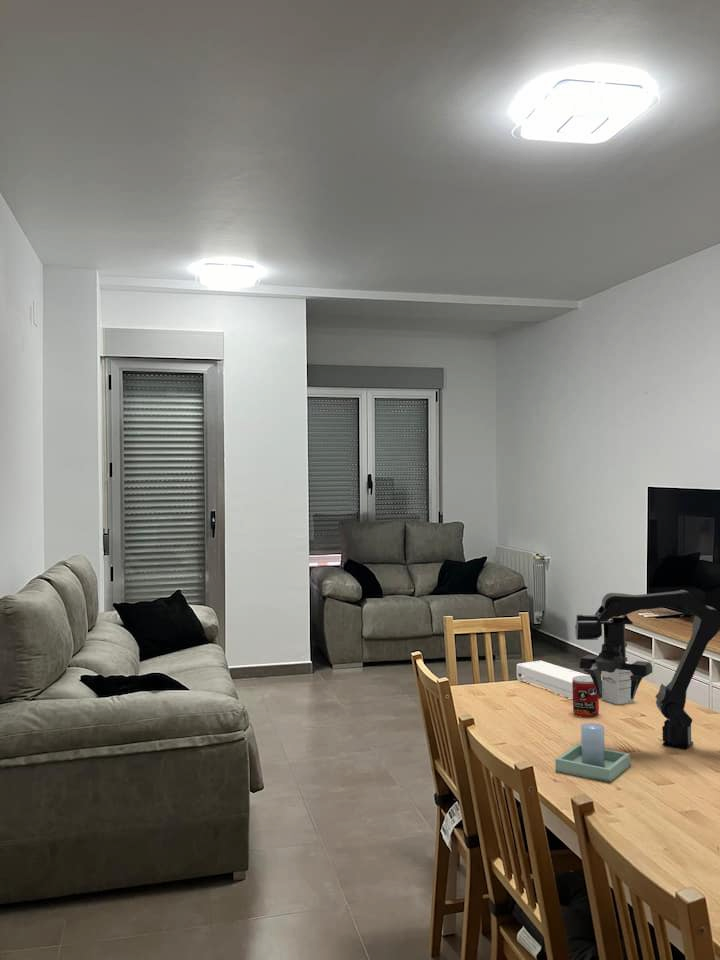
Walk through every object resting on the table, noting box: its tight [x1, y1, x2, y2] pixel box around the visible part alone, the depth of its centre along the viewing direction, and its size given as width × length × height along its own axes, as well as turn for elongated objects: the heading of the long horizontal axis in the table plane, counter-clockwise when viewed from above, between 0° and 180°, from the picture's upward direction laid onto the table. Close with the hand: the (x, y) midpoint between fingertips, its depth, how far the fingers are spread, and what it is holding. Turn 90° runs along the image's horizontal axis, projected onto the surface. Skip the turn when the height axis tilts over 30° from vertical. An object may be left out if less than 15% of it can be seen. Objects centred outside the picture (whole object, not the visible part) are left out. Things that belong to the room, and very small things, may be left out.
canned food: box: [572, 675, 600, 718], centre depth 258 cm, size 8×8×11 cm
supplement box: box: [601, 661, 635, 706], centre depth 271 cm, size 7×7×13 cm
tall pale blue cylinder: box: [580, 722, 605, 768], centre depth 211 cm, size 6×6×10 cm
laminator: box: [515, 659, 602, 700], centre depth 289 cm, size 34×12×6 cm, turn 25°
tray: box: [554, 743, 631, 783], centre depth 211 cm, size 14×14×3 cm
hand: (615, 696), depth 230 cm, fingers open, 9 cm apart
